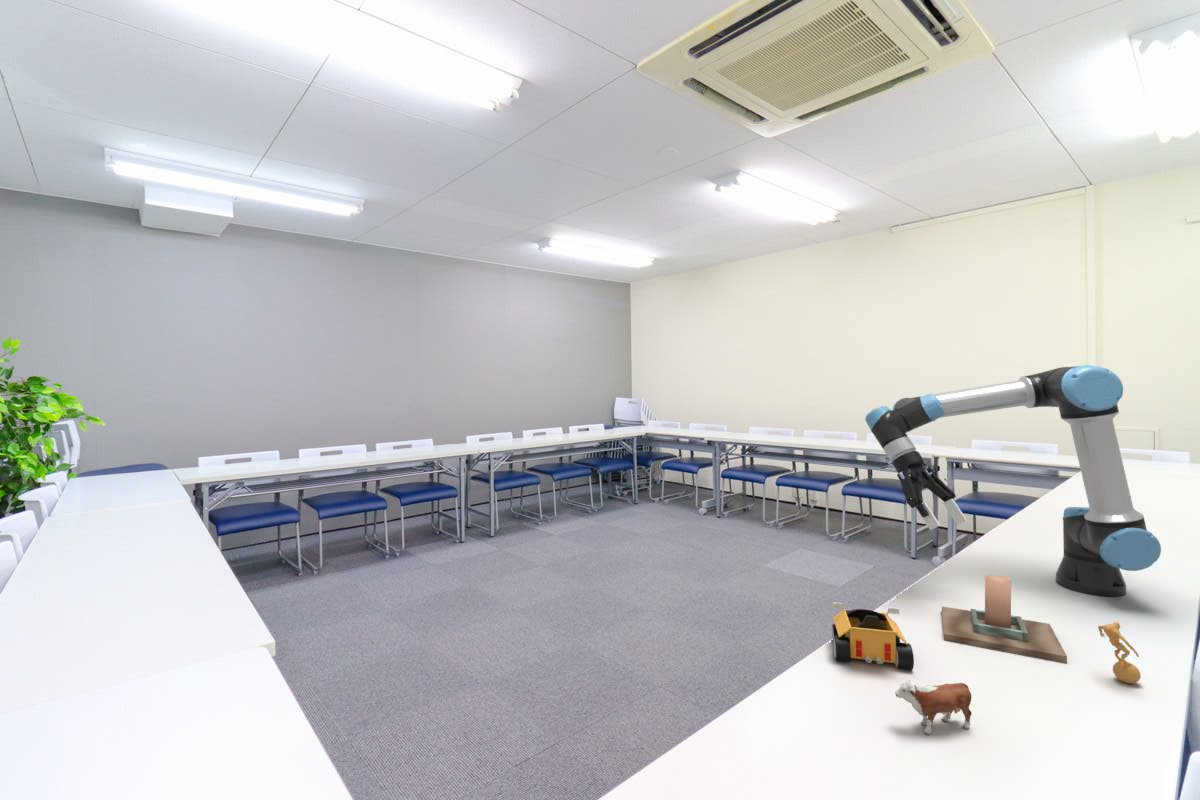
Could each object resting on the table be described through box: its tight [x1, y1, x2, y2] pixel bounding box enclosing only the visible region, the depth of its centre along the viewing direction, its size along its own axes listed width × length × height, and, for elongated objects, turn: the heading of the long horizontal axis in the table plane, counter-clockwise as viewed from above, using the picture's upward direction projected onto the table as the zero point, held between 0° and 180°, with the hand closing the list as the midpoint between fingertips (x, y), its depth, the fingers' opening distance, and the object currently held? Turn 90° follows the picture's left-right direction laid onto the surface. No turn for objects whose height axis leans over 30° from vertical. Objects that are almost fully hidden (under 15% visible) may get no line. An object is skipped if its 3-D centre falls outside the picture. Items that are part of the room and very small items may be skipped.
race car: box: [831, 602, 915, 670], centre depth 119 cm, size 15×15×11 cm
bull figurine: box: [894, 679, 972, 736], centre depth 94 cm, size 4×13×8 cm, turn 95°
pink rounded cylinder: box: [984, 574, 1012, 629], centre depth 127 cm, size 5×5×12 cm
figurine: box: [1097, 621, 1142, 684], centre depth 107 cm, size 8×6×12 cm
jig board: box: [941, 606, 1068, 664], centre depth 127 cm, size 22×18×4 cm
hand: (949, 525), depth 143 cm, fingers open, 13 cm apart
